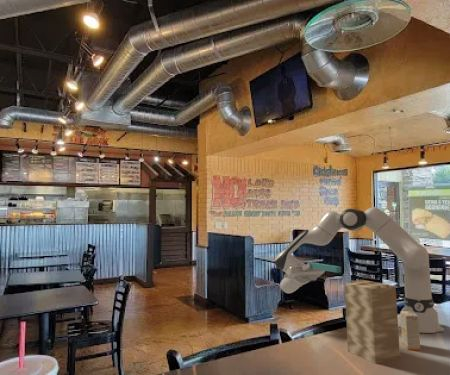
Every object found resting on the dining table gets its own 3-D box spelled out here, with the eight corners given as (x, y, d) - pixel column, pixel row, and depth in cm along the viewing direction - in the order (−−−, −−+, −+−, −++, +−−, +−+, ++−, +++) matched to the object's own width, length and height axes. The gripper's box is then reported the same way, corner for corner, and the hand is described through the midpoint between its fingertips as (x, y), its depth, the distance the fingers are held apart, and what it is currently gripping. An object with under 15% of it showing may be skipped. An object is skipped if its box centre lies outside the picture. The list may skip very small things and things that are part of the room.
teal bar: (307, 267, 174) (307, 262, 175) (311, 267, 175) (311, 262, 176) (336, 272, 155) (336, 267, 155) (341, 272, 156) (340, 266, 156)
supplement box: (421, 350, 140) (418, 316, 142) (407, 350, 141) (405, 315, 143) (414, 343, 148) (412, 310, 150) (402, 343, 149) (399, 310, 151)
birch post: (348, 351, 141) (344, 281, 144) (371, 346, 146) (367, 278, 149) (375, 363, 129) (371, 286, 131) (400, 357, 133) (395, 283, 136)
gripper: (280, 271, 180) (293, 259, 170) (313, 268, 188) (328, 257, 178) (283, 283, 177) (297, 272, 166) (318, 280, 185) (332, 269, 174)
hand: (313, 264), depth 172 cm, fingers closed on teal bar, 2 cm apart
